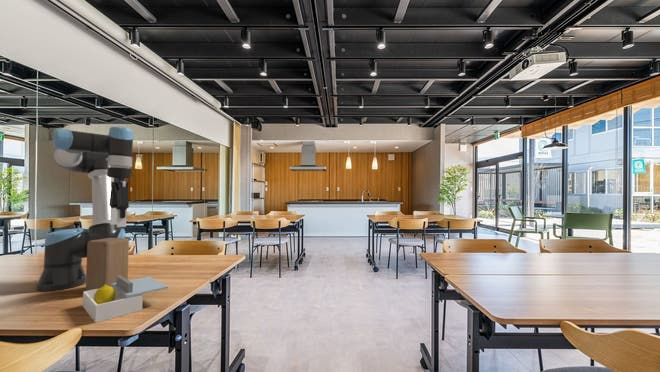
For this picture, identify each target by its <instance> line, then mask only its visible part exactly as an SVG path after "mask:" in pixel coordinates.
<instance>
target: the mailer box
mask: <svg viewBox="0 0 660 372" xmlns="http://www.w3.org/2000/svg"><path fill="white" fill-rule="evenodd" d="M110 287H113V286H110ZM113 289H114V291H115V299H114V301H112V302H107V303H103V304H99V305H98V304H97V303H96V302H95V301H94V295H95V293H96V291H97V290H98V289H95V290H89V291H86V290H84V291H83V292H82V308H83V309H84V310H85V311H86V312H87V314H88V315H89V317H91V319H92V320H93V322H94V323H95V324H96V323H100V322H102V321H107V320H111V319H114V318H118V317H122V316H126V315H129V314H133V313H137V312H141V311H143V302H144V301H143V298H144V297H143V295H144V294H140V295H136V296H131V297H126V296H125V295H124V294H122V293H121V292H120V291H119V290H117V289H116V288H115V287H113Z"/></svg>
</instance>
